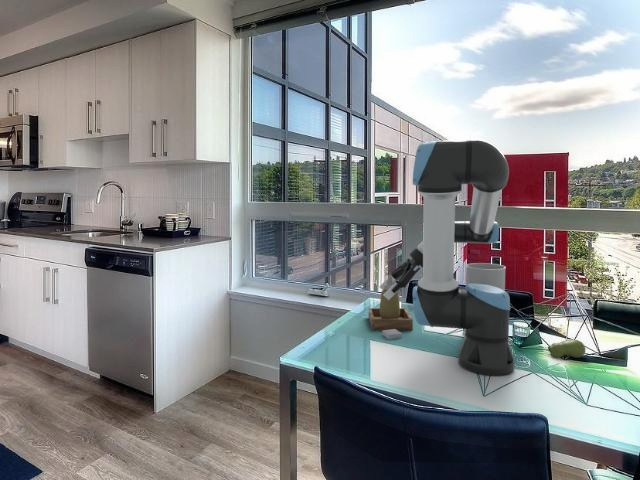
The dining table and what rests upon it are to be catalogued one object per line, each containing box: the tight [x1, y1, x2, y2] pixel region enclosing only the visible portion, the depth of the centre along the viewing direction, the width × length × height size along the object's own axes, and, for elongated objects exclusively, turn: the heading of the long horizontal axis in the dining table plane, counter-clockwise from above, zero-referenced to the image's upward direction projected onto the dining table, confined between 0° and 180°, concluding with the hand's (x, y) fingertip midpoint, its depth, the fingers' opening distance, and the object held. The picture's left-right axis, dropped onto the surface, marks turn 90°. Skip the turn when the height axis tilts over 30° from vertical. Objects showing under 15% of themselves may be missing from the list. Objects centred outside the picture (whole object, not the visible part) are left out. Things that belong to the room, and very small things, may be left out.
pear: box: [547, 339, 586, 359], centre depth 123 cm, size 6×5×10 cm
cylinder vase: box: [465, 262, 507, 291], centre depth 140 cm, size 12×12×25 cm
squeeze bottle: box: [379, 274, 401, 319], centre depth 155 cm, size 8×8×18 cm
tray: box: [368, 307, 414, 331], centre depth 156 cm, size 15×15×4 cm
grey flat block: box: [381, 329, 403, 340], centre depth 143 cm, size 5×5×2 cm
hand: (383, 293), depth 155 cm, fingers open, 13 cm apart
